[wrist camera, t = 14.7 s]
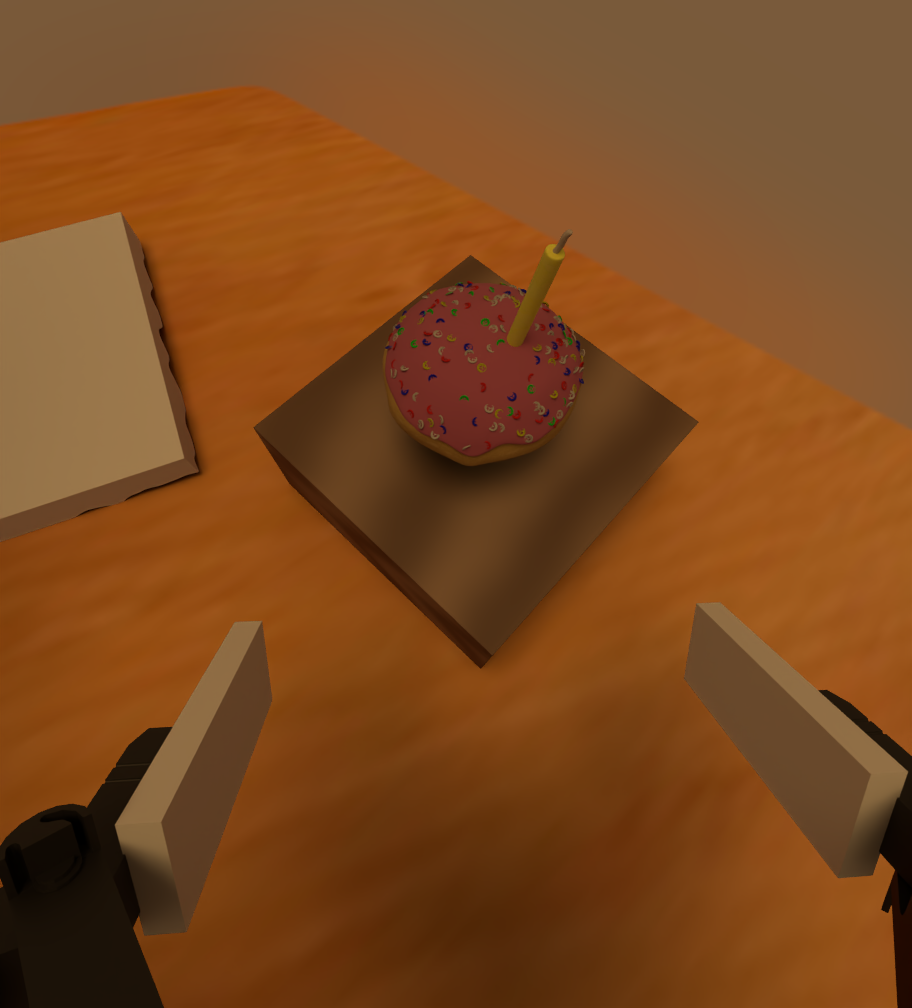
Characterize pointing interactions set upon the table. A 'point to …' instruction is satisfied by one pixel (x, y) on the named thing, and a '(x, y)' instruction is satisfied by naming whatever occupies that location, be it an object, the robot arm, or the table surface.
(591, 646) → the table surface
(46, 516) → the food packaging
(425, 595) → the riser
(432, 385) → the cupcake
